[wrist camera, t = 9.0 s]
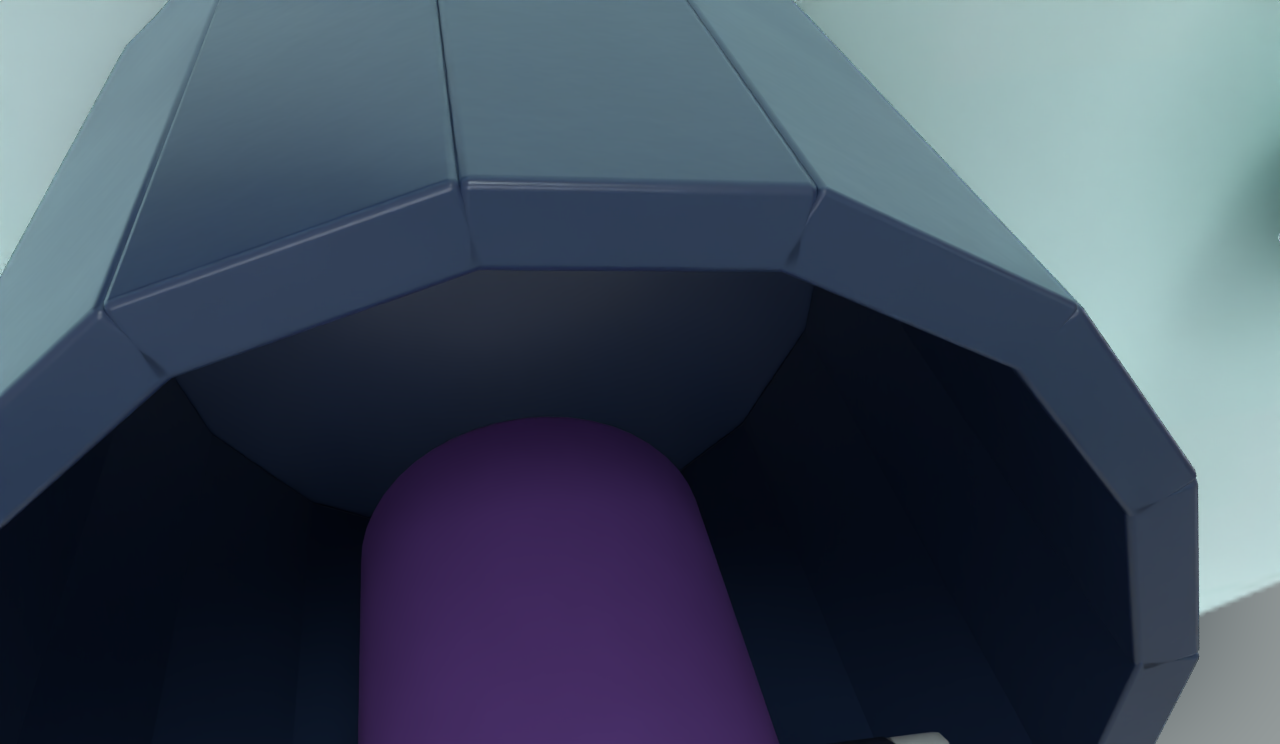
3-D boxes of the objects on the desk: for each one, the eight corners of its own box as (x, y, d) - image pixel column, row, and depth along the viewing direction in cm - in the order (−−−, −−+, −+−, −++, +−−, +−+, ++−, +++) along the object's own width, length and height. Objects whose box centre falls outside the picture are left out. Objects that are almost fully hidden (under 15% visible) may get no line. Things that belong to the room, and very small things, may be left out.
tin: (764, -269, 16) (1200, -84, 7) (902, 413, 23) (1203, 906, 15) (-90, 37, 16) (-616, 559, 8) (308, 619, 23) (265, 1222, 15)
